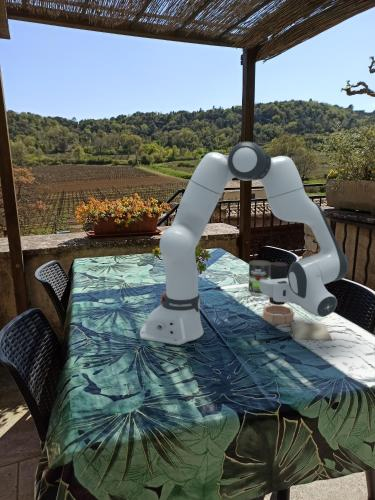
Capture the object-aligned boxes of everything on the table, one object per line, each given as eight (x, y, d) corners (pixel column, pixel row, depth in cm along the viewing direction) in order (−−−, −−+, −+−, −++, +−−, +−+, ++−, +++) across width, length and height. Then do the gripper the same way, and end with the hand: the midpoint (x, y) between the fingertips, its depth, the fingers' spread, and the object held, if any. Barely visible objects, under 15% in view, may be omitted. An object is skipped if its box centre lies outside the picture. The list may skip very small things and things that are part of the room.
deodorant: (286, 305, 127) (288, 266, 124) (269, 304, 128) (271, 265, 125) (284, 299, 132) (286, 262, 129) (269, 298, 133) (270, 261, 130)
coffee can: (268, 296, 155) (269, 266, 152) (246, 293, 159) (246, 264, 156) (272, 289, 164) (273, 260, 161) (250, 287, 168) (251, 259, 165)
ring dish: (264, 322, 127) (264, 315, 126) (262, 311, 138) (262, 304, 137) (294, 324, 125) (294, 316, 125) (290, 312, 136) (291, 305, 135)
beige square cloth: (294, 338, 114) (294, 337, 114) (290, 323, 126) (290, 322, 126) (332, 340, 112) (332, 339, 112) (324, 325, 124) (324, 323, 124)
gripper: (324, 279, 118) (301, 268, 131) (271, 284, 113) (253, 273, 126) (323, 296, 119) (300, 284, 132) (270, 302, 114) (252, 289, 127)
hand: (277, 279), depth 129 cm, fingers closed on deodorant, 6 cm apart
